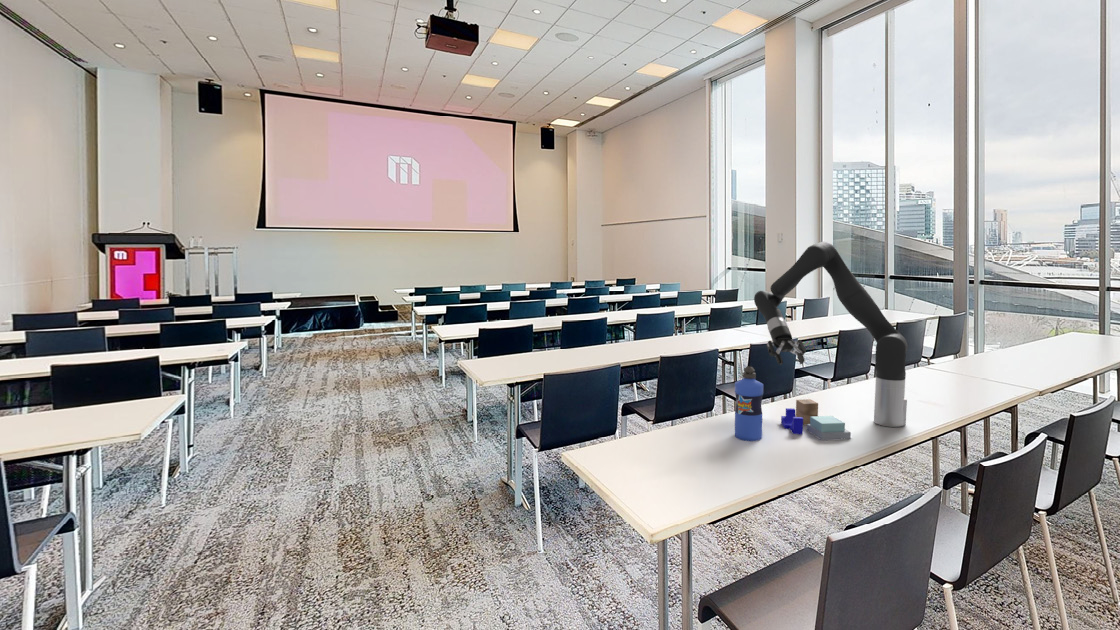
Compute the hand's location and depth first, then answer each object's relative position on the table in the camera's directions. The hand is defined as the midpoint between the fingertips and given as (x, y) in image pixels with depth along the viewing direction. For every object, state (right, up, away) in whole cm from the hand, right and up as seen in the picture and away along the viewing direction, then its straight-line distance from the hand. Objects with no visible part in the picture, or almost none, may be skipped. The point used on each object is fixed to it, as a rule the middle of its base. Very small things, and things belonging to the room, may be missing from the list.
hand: (791, 363), depth 209 cm
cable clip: (-7, -23, -16) cm, 29 cm away
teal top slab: (+2, -21, -23) cm, 31 cm away
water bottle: (-26, -24, -23) cm, 42 cm away
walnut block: (+1, -21, -9) cm, 23 cm away
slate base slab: (+3, -24, -23) cm, 33 cm away
